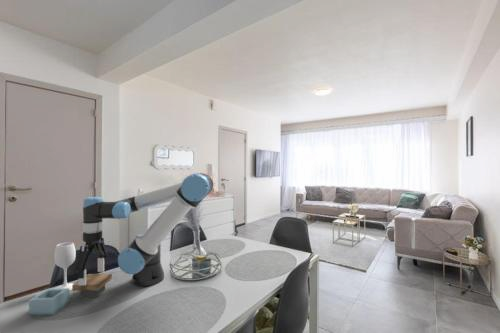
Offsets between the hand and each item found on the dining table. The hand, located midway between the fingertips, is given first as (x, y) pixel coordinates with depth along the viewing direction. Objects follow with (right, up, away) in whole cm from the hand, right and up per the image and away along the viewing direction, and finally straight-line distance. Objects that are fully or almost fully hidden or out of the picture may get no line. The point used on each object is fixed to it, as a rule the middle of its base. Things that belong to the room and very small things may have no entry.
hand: (92, 278), depth 113 cm
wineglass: (-16, -7, +5) cm, 18 cm away
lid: (0, -3, 0) cm, 3 cm away
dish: (-9, -7, -12) cm, 17 cm away
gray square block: (0, -7, 0) cm, 7 cm away
